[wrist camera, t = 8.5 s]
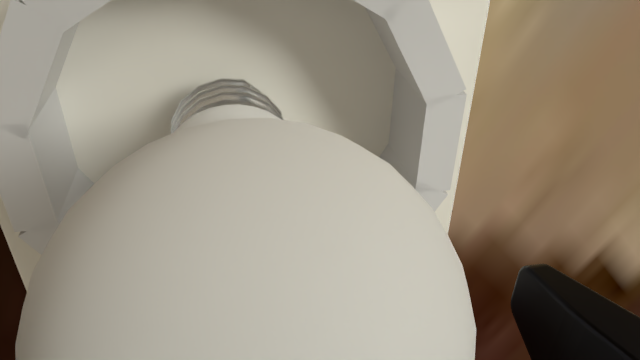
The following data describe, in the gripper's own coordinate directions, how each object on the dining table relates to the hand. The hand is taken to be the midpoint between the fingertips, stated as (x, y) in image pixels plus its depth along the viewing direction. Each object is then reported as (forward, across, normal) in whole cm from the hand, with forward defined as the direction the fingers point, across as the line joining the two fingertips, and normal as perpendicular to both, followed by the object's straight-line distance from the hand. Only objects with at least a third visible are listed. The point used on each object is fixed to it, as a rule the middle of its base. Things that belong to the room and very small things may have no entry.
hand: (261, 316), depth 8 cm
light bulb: (+8, 0, 0) cm, 8 cm away
